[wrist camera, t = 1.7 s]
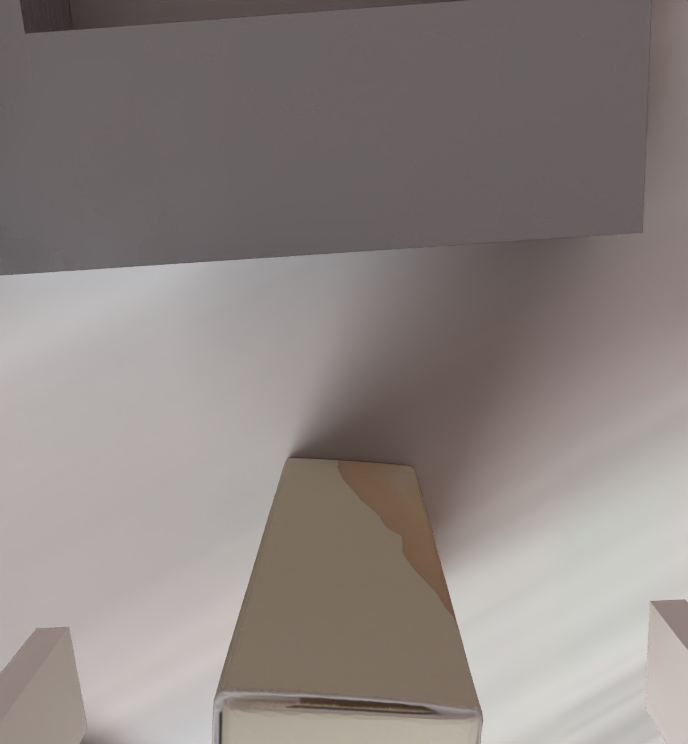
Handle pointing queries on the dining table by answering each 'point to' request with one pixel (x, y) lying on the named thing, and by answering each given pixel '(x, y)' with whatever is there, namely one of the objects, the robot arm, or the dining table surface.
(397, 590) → the box
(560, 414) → the dining table surface
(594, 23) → the square recessed tray
